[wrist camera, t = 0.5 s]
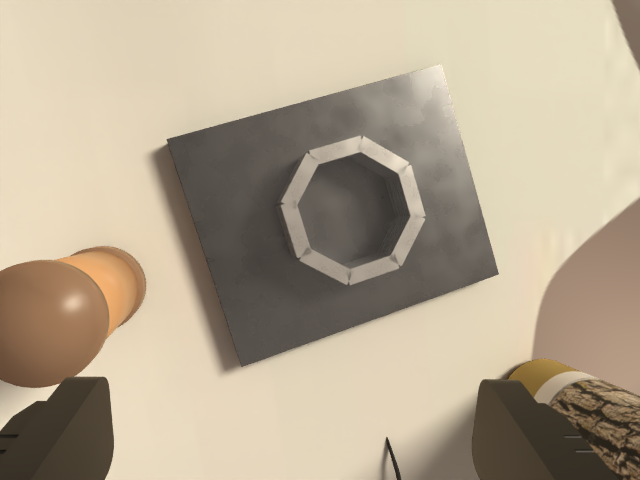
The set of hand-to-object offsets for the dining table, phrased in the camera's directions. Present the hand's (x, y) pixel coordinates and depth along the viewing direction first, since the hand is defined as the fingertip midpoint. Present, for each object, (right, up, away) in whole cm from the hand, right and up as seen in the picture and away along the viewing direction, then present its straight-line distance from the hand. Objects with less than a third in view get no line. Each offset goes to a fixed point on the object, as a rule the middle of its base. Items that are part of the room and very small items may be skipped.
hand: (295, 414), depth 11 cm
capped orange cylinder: (-14, +1, +24) cm, 27 cm away
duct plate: (+2, +6, +26) cm, 27 cm away
